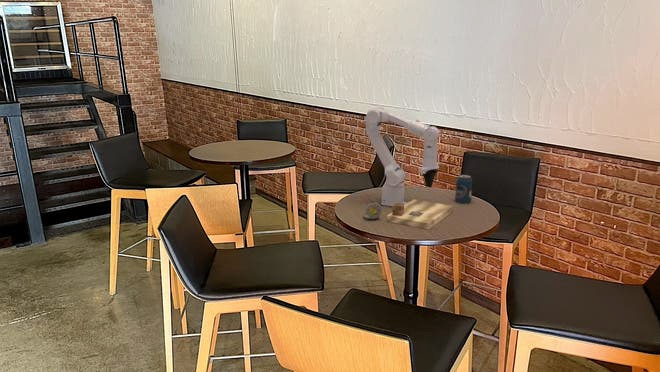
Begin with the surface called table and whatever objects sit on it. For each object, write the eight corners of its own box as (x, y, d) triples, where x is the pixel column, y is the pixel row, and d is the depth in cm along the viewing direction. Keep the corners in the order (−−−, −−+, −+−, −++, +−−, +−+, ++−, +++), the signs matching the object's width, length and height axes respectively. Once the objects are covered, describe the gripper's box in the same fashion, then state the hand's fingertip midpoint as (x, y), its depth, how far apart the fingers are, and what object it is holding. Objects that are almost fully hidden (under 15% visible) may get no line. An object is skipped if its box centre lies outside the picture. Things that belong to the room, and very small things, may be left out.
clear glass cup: (370, 213, 213) (370, 191, 210) (385, 218, 207) (386, 195, 204) (357, 218, 207) (357, 195, 204) (372, 223, 201) (373, 199, 199)
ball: (412, 217, 207) (410, 221, 204) (411, 209, 206) (409, 214, 203) (420, 217, 206) (419, 221, 203) (420, 209, 204) (418, 214, 201)
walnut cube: (392, 215, 203) (392, 205, 202) (394, 212, 207) (394, 202, 206) (402, 216, 202) (402, 206, 201) (403, 212, 205) (404, 203, 204)
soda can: (452, 202, 228) (453, 176, 224) (459, 198, 233) (460, 173, 229) (466, 204, 223) (468, 178, 220) (473, 201, 228) (475, 175, 225)
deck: (386, 221, 203) (387, 215, 203) (413, 204, 224) (413, 199, 223) (428, 229, 194) (428, 223, 193) (452, 211, 215) (452, 205, 214)
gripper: (432, 159, 205) (430, 191, 208) (445, 153, 216) (444, 184, 220) (416, 157, 209) (414, 189, 212) (430, 151, 220) (429, 181, 224)
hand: (428, 186), depth 216 cm, fingers closed
